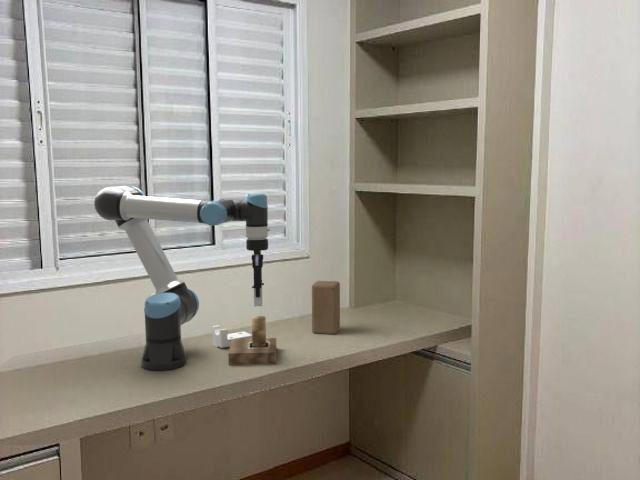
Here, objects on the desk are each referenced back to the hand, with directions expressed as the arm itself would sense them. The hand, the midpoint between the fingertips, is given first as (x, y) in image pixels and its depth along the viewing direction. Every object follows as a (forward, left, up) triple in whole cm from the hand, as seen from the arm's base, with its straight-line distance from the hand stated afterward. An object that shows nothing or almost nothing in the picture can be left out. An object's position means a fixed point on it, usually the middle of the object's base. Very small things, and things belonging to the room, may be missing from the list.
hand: (258, 304), depth 219 cm
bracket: (-10, +16, -19) cm, 27 cm away
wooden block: (+26, +32, -19) cm, 45 cm away
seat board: (-2, 0, -19) cm, 19 cm away
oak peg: (0, 0, -19) cm, 19 cm away
